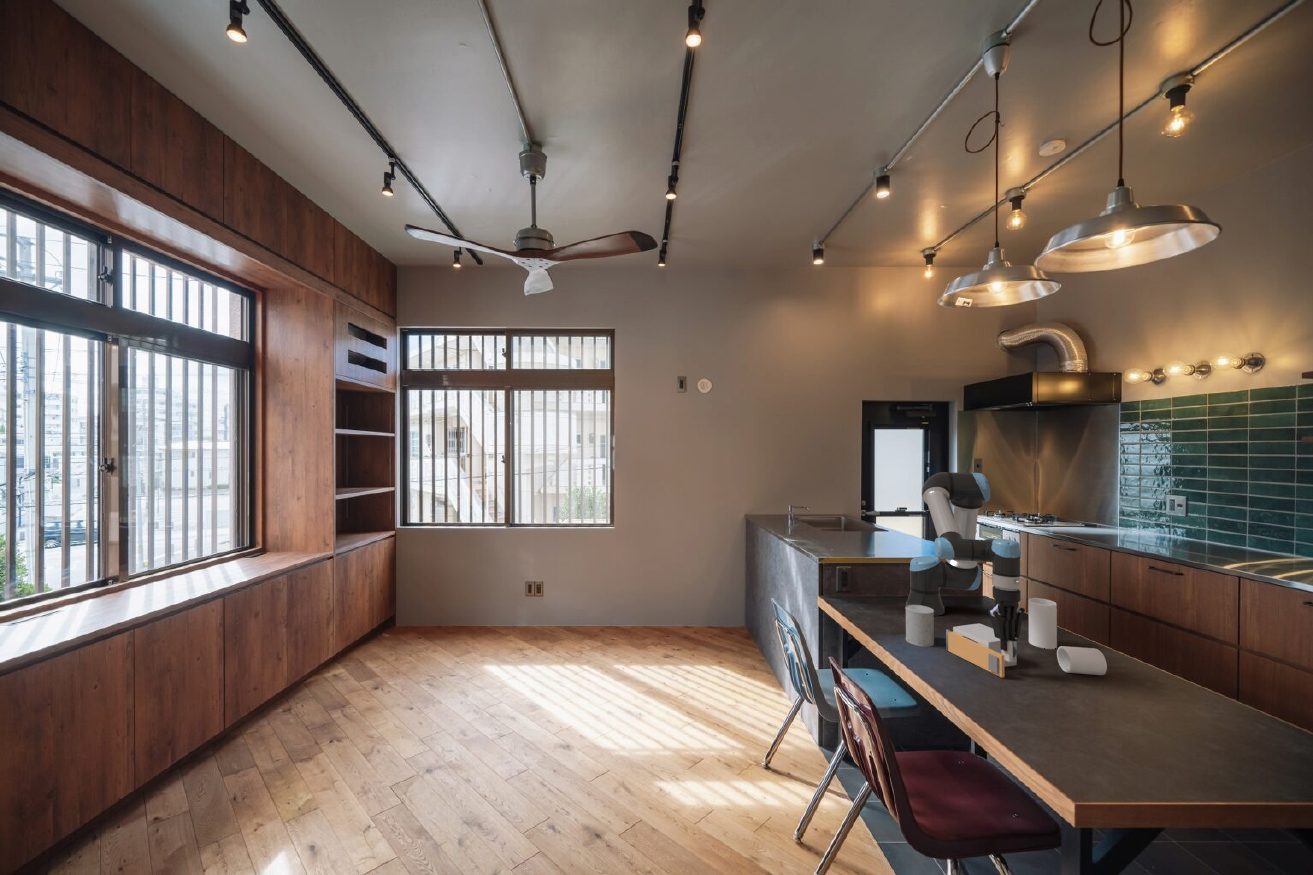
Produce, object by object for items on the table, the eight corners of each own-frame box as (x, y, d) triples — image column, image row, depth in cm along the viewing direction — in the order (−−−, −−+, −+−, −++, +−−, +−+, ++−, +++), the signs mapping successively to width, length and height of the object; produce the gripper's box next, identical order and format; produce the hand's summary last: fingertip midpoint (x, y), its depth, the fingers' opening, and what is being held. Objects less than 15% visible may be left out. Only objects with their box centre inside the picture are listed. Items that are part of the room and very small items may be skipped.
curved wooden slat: (943, 650, 178) (943, 629, 178) (948, 649, 179) (948, 629, 179) (999, 678, 158) (999, 655, 158) (1004, 677, 158) (1004, 654, 158)
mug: (1107, 679, 157) (1107, 654, 157) (1071, 676, 159) (1071, 652, 159) (1082, 662, 168) (1082, 639, 168) (1049, 660, 170) (1049, 637, 170)
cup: (1057, 651, 178) (1057, 606, 178) (1028, 645, 182) (1028, 602, 182) (1056, 643, 184) (1056, 600, 184) (1028, 638, 189) (1028, 596, 189)
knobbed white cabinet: (953, 651, 177) (953, 624, 177) (979, 647, 181) (979, 621, 181) (991, 670, 163) (991, 640, 163) (1019, 665, 166) (1019, 636, 166)
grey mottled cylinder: (927, 636, 191) (927, 604, 191) (938, 647, 182) (938, 613, 182) (901, 635, 192) (901, 604, 192) (911, 646, 182) (911, 612, 182)
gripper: (1001, 592, 156) (1002, 667, 156) (1032, 589, 160) (1033, 662, 159) (980, 585, 163) (981, 657, 163) (1010, 582, 167) (1011, 652, 167)
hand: (1007, 659), depth 161 cm, fingers closed
